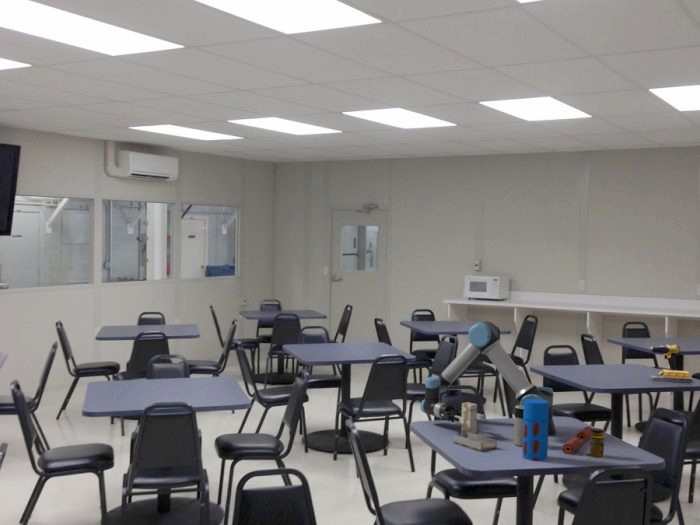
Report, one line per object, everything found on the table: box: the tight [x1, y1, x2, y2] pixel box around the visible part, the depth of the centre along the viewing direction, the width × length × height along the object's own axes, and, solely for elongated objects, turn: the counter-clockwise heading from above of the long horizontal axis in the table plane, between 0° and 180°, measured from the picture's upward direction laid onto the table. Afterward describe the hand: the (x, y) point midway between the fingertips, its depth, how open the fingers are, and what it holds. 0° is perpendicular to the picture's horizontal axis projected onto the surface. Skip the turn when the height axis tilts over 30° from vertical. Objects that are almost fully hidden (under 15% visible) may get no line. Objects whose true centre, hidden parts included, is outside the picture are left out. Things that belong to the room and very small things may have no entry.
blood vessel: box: [561, 426, 593, 455], centre depth 366 cm, size 42×5×5 cm, turn 151°
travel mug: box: [513, 404, 524, 447], centre depth 363 cm, size 8×8×18 cm
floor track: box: [453, 432, 498, 453], centre depth 358 cm, size 18×10×4 cm, turn 34°
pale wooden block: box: [460, 401, 478, 438], centre depth 377 cm, size 6×4×16 cm
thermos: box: [522, 399, 549, 462], centre depth 340 cm, size 11×11×25 cm
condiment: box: [582, 427, 608, 459], centre depth 346 cm, size 7×8×12 cm
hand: (474, 419), depth 374 cm, fingers open, 12 cm apart
